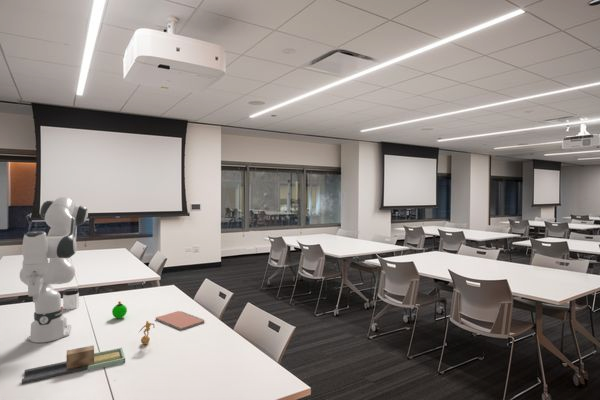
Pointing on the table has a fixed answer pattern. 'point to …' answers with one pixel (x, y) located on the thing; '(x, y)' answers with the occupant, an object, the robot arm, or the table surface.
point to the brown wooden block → (80, 357)
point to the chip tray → (108, 363)
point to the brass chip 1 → (100, 359)
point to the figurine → (145, 339)
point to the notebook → (180, 320)
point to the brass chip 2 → (113, 356)
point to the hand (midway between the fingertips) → (36, 301)
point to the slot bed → (49, 372)
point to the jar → (71, 299)
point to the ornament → (119, 310)
